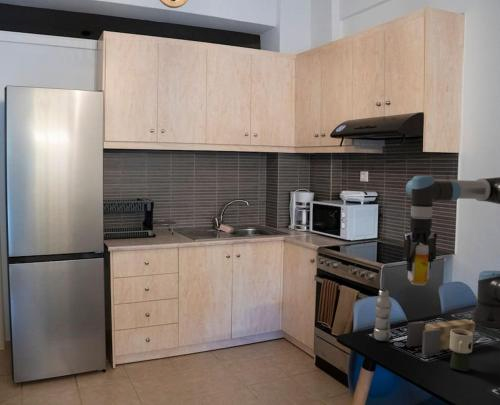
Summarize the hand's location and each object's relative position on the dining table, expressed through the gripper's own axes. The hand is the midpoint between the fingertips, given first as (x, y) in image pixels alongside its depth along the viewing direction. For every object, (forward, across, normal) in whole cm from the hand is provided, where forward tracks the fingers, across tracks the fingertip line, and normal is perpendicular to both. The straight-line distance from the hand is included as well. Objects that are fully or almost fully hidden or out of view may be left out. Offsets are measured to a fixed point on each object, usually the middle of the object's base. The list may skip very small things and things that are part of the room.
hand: (418, 278), depth 181 cm
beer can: (+2, 0, 0) cm, 2 cm away
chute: (+27, -2, +2) cm, 27 cm away
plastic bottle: (+27, +7, -11) cm, 30 cm away
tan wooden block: (+27, -14, +2) cm, 31 cm away
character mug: (+27, -2, +20) cm, 34 cm away
